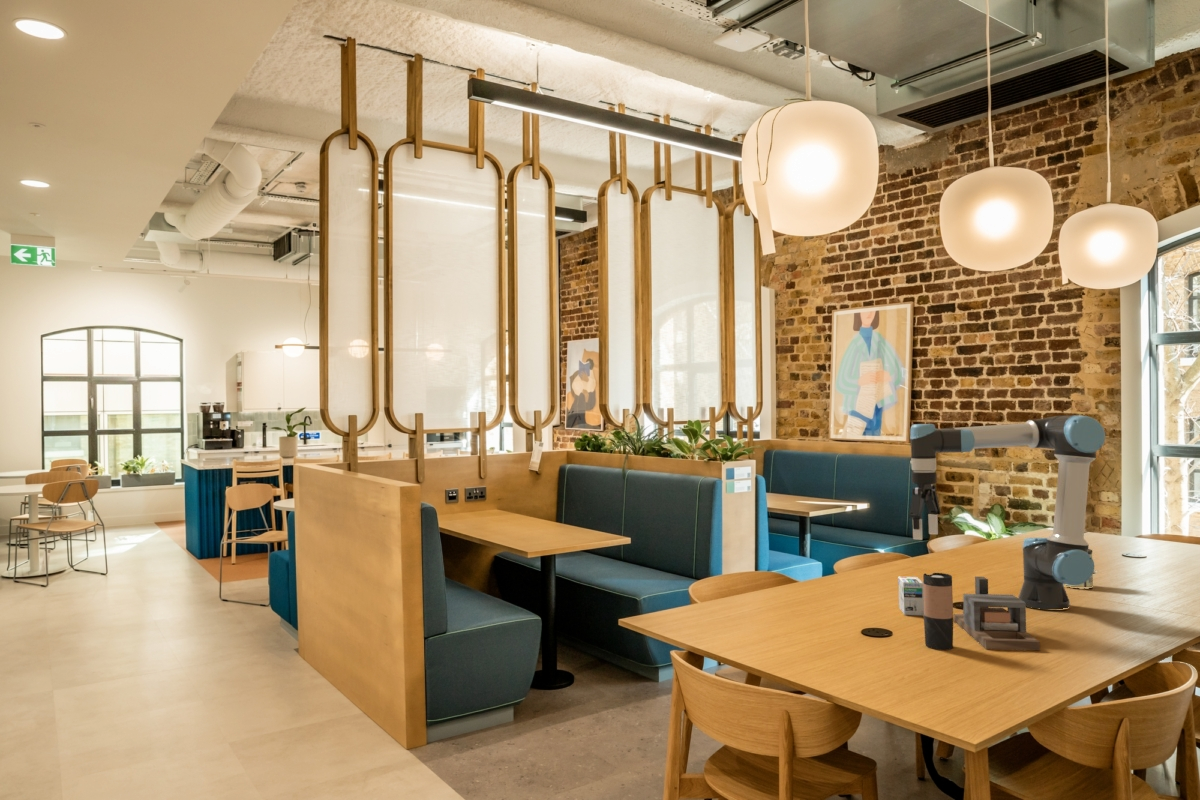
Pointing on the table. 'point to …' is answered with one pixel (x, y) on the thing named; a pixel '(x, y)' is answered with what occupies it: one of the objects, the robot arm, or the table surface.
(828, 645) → the table surface
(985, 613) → the block
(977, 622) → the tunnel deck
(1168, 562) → the table surface
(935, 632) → the travel mug
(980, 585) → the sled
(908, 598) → the light bulb box
